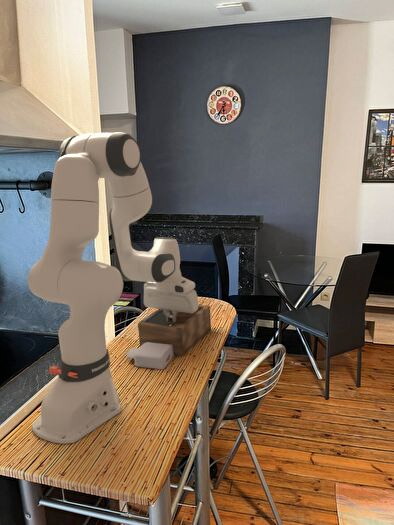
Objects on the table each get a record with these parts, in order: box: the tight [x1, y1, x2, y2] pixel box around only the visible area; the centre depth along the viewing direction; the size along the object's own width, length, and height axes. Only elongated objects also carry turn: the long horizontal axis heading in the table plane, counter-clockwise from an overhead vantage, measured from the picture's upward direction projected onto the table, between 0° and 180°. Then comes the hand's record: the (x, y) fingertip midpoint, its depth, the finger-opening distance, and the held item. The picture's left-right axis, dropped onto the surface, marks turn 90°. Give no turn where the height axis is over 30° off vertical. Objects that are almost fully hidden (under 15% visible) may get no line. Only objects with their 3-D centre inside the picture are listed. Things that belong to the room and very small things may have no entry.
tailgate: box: [140, 309, 173, 326], centre depth 142 cm, size 18×1×8 cm, turn 153°
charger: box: [122, 342, 174, 370], centre depth 126 cm, size 5×9×15 cm
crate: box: [137, 303, 212, 358], centre depth 139 cm, size 22×16×10 cm
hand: (171, 321), depth 140 cm, fingers closed
